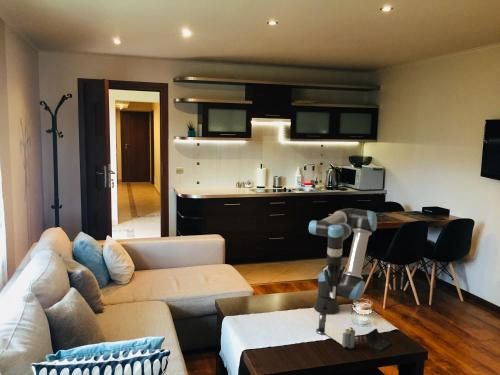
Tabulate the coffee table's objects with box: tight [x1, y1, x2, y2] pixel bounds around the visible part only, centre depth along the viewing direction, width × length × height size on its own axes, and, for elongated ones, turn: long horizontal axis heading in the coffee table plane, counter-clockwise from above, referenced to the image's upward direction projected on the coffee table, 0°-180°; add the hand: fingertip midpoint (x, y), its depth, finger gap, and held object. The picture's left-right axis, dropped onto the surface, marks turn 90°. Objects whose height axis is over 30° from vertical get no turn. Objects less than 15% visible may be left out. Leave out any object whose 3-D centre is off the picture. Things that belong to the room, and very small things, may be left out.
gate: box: [325, 321, 350, 348], centre depth 215 cm, size 3×15×7 cm, turn 31°
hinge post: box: [315, 313, 327, 336], centre depth 224 cm, size 6×6×10 cm
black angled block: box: [364, 328, 392, 353], centre depth 214 cm, size 12×7×10 cm
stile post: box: [344, 326, 356, 349], centre depth 210 cm, size 3×4×10 cm
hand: (332, 297), depth 219 cm, fingers closed
